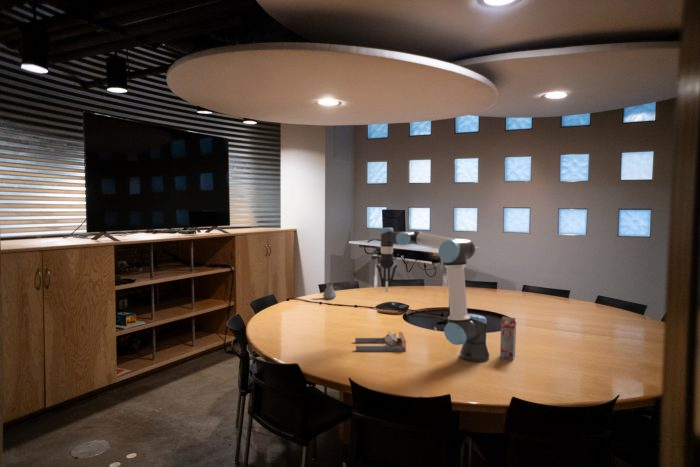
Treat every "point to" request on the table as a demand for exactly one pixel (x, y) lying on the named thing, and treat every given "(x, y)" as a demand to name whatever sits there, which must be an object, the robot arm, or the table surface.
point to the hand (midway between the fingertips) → (386, 291)
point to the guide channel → (381, 348)
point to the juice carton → (508, 338)
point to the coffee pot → (330, 291)
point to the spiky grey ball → (390, 339)
